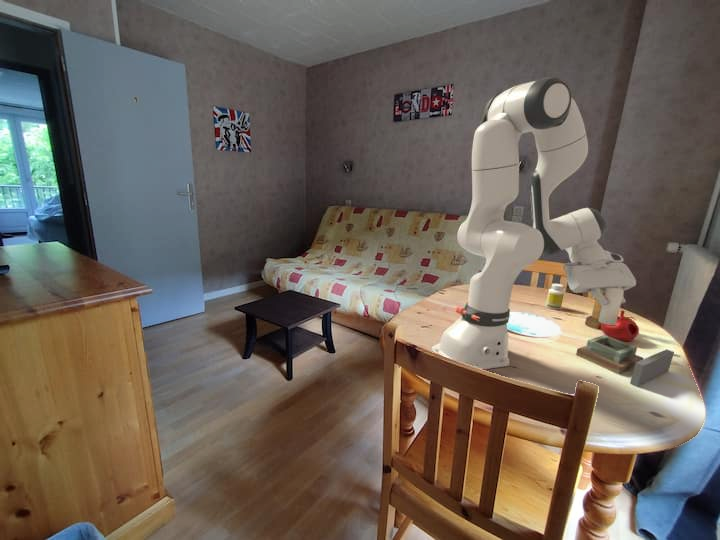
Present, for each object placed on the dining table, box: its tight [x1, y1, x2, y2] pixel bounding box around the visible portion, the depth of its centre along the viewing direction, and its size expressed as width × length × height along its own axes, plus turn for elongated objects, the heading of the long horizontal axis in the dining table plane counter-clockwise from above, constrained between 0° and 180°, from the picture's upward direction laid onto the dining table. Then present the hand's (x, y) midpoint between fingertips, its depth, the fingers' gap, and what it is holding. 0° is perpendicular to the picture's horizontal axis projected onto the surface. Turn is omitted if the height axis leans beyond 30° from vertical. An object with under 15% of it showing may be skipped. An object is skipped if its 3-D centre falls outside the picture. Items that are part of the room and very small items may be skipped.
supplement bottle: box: [545, 283, 565, 310], centre depth 130 cm, size 5×5×10 cm
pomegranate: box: [601, 310, 640, 342], centre depth 105 cm, size 10×10×9 cm
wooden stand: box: [584, 291, 605, 331], centre depth 112 cm, size 7×6×18 cm
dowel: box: [598, 287, 625, 325], centre depth 91 cm, size 4×4×10 cm
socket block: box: [575, 334, 644, 375], centre depth 92 cm, size 12×11×5 cm
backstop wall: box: [629, 349, 675, 387], centre depth 83 cm, size 16×2×6 cm, turn 116°
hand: (613, 303), depth 90 cm, fingers closed on dowel, 4 cm apart
